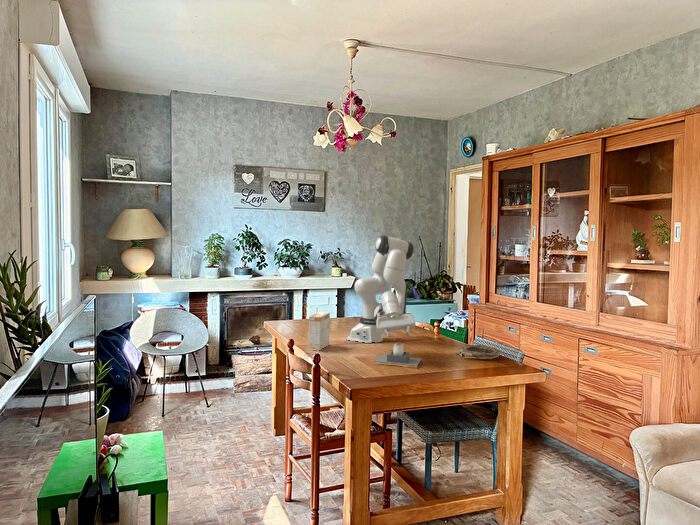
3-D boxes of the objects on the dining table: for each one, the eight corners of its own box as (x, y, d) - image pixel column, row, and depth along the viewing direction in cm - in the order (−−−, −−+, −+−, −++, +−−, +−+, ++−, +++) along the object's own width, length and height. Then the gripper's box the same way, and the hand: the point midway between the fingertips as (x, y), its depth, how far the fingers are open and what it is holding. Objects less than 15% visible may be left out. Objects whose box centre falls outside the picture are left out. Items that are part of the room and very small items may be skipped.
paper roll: (391, 360, 266) (391, 344, 265) (396, 358, 270) (397, 342, 269) (399, 361, 263) (400, 346, 262) (405, 359, 267) (405, 344, 266)
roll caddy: (374, 364, 263) (374, 354, 263) (380, 357, 276) (380, 348, 276) (417, 368, 257) (417, 358, 256) (421, 361, 270) (421, 352, 270)
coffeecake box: (318, 344, 303) (319, 311, 302) (329, 345, 301) (330, 312, 299) (308, 350, 289) (308, 315, 288) (319, 351, 287) (320, 316, 285)
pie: (476, 348, 304) (477, 340, 303) (517, 359, 282) (517, 350, 282) (444, 355, 286) (445, 346, 286) (485, 367, 265) (486, 358, 264)
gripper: (412, 316, 275) (418, 336, 265) (375, 322, 275) (379, 342, 264) (412, 308, 271) (418, 328, 261) (374, 314, 271) (378, 333, 260)
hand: (398, 335), depth 263 cm, fingers open, 8 cm apart
